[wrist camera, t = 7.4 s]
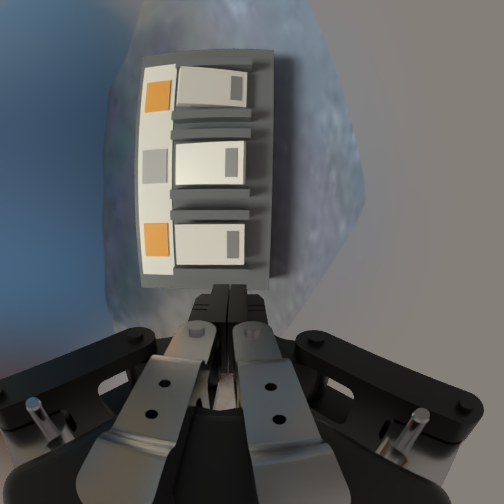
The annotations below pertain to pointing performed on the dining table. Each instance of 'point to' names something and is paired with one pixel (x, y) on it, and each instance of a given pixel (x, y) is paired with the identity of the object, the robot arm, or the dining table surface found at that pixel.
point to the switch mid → (211, 163)
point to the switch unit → (202, 195)
